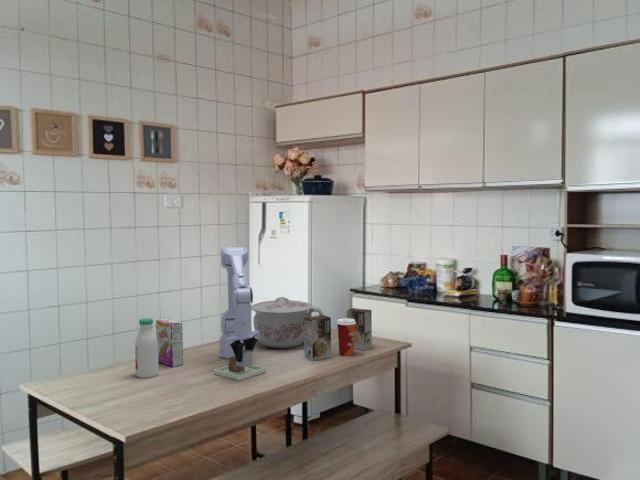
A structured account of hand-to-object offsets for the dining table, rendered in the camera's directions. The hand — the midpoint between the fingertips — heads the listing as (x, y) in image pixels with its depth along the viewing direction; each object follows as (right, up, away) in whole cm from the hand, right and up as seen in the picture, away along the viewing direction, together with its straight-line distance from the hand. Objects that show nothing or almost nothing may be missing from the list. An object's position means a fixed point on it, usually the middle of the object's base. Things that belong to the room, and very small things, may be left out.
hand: (243, 360), depth 200 cm
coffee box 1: (+26, -4, +23) cm, 35 cm away
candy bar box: (-30, -5, +15) cm, 34 cm away
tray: (-2, -5, +2) cm, 6 cm away
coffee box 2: (+43, -3, +39) cm, 58 cm away
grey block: (0, -2, 0) cm, 2 cm away
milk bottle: (-34, -6, +1) cm, 35 cm away
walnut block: (-3, -5, +4) cm, 7 cm away
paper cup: (+37, -4, +28) cm, 47 cm away
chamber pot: (+11, -3, +44) cm, 46 cm away
